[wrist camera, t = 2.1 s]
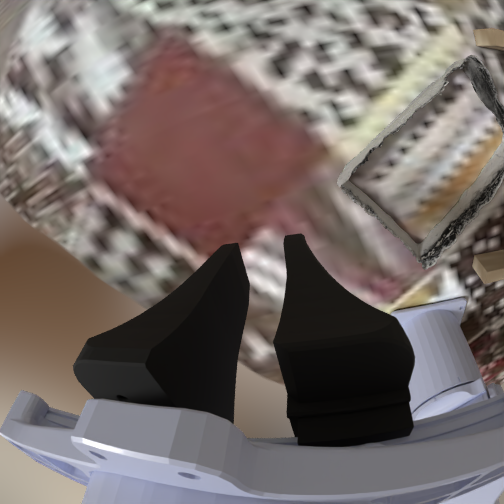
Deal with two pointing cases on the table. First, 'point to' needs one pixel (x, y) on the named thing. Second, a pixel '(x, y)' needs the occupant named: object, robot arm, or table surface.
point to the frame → (499, 262)
